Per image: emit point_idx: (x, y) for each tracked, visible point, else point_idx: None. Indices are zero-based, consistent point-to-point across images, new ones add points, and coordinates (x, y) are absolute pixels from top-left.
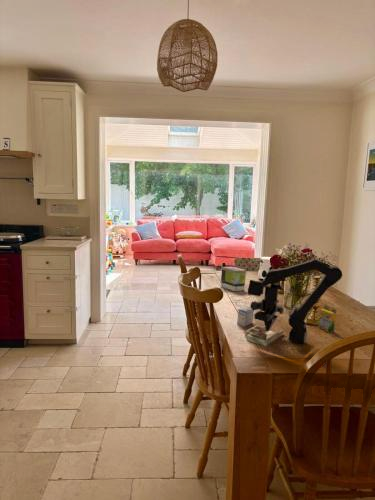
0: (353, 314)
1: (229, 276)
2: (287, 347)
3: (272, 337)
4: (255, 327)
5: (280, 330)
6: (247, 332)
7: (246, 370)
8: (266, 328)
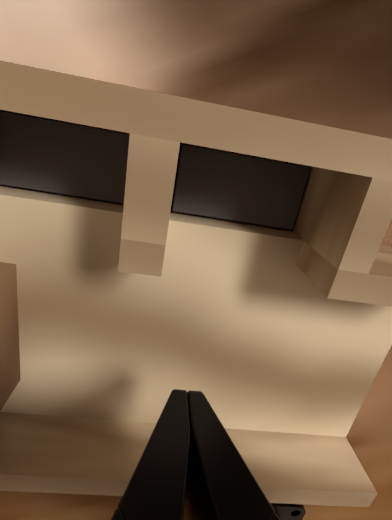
0: None
1: None
2: (85, 504)
3: (12, 485)
4: (290, 161)
5: (329, 491)
6: None
7: None
8: (156, 433)
